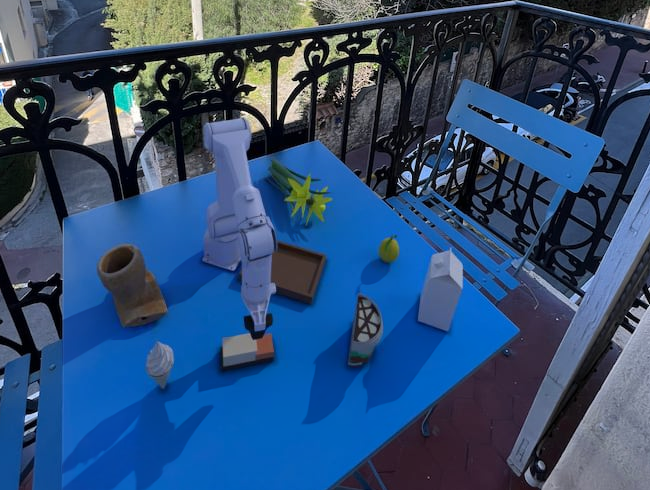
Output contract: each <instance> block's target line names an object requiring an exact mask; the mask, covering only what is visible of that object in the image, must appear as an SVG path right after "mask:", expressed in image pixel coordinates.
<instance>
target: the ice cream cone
mask: <svg viewBox="0 0 650 490" xmlns="http://www.w3.org/2000/svg"><path fill="white" fill-rule="evenodd" d="M174 356H175V355H174V351H173V349H172V348H171V346H169V345H168V344H164V343H162V342H160V341H158V340H157V341H156V342H155V344H154V347H153V348H152V349H151V350H149V354H147V356H146V364H145V370H146V373H147V375H148V376H149V377H151V378H152V379H153V380H154V381H155V383H156V384H157V385H158V386H159V387H160V388H161V389H162V390H164V389H165V388H166V385H167V383H168V379H169V376H170V373H171V370H172V368H173V366H174V362H175V357H174Z"/></svg>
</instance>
